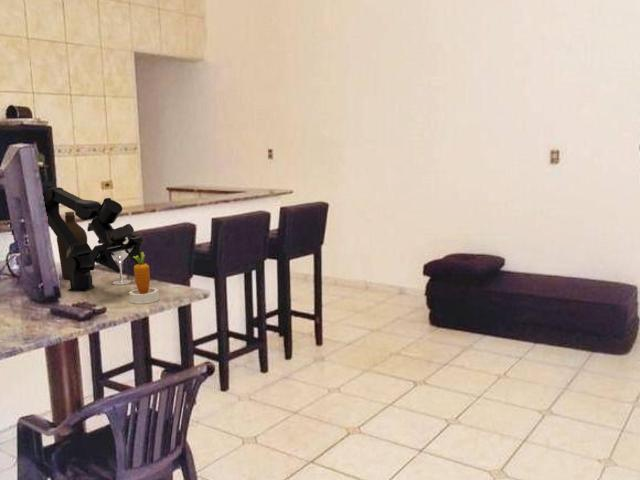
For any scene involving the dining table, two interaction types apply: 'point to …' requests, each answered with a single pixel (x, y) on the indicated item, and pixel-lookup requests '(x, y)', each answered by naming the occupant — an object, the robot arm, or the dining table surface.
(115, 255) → the wineglass
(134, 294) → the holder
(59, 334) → the dining table surface
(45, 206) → the robot arm
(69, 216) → the olive oil
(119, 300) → the dining table surface
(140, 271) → the carrot
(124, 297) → the dining table surface
